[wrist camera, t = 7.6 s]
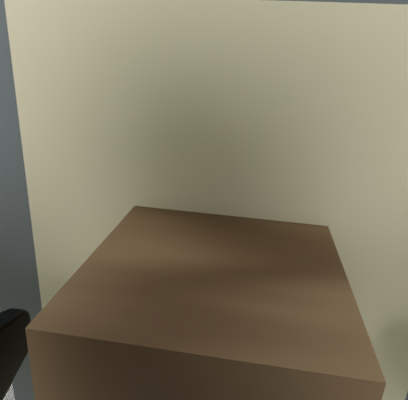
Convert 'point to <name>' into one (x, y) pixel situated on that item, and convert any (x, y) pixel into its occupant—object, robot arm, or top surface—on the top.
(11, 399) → the top surface
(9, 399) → the top surface
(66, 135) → the slate pad
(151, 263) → the walnut cube
